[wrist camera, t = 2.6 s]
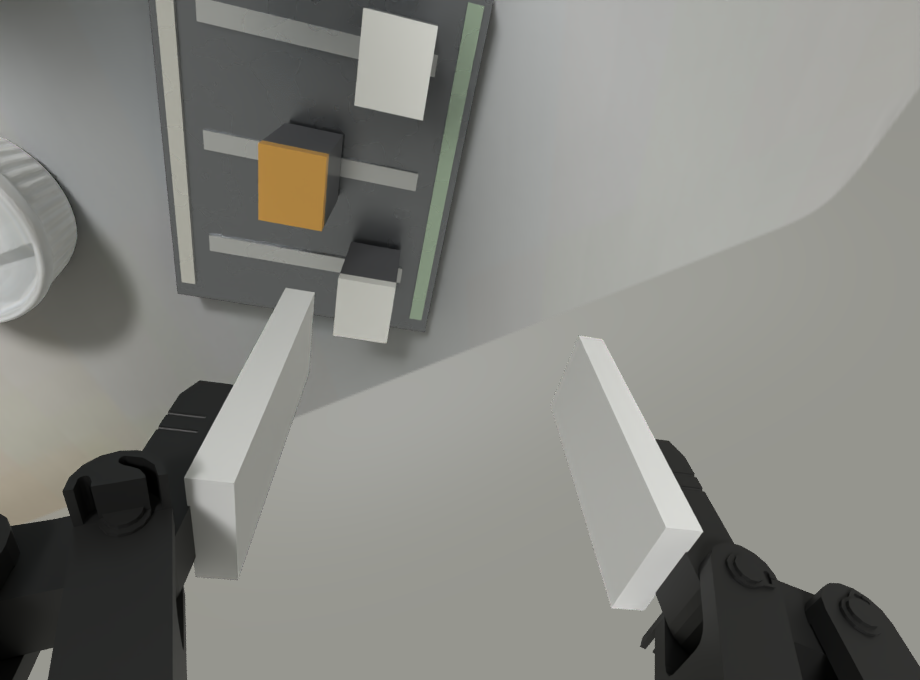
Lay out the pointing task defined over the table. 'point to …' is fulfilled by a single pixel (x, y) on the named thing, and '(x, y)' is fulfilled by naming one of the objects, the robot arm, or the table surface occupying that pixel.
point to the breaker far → (366, 293)
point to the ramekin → (30, 231)
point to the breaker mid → (298, 176)
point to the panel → (315, 106)
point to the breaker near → (394, 63)
